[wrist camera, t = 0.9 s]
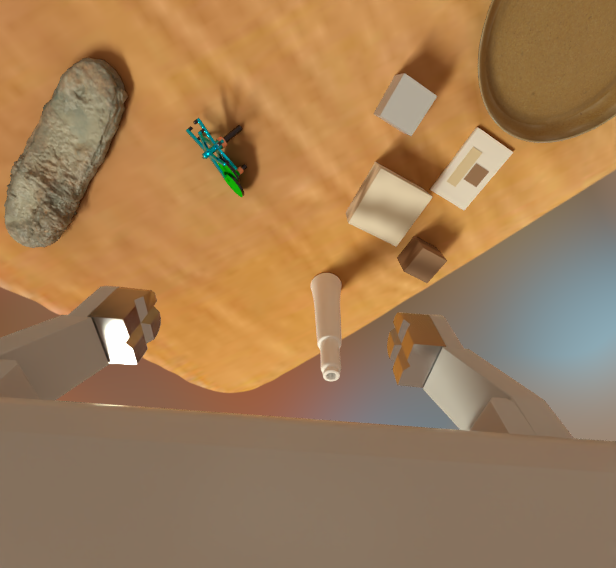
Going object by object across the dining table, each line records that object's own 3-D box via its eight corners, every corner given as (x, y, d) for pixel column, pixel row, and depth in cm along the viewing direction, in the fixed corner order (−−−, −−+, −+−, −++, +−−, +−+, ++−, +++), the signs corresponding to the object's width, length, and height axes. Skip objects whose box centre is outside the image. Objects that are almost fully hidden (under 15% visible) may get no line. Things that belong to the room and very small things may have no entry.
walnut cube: (414, 235, 51) (423, 247, 47) (436, 247, 52) (447, 260, 48) (396, 257, 54) (403, 271, 49) (418, 268, 55) (427, 283, 51)
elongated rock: (154, 99, 42) (89, 38, 39) (135, 96, 37) (58, 26, 34) (59, 257, 55) (3, 221, 51) (36, 269, 50) (-27, 230, 47)
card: (476, 127, 42) (478, 127, 41) (511, 151, 43) (513, 152, 43) (429, 189, 47) (431, 190, 46) (462, 209, 48) (464, 210, 48)
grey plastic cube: (394, 75, 39) (404, 73, 35) (424, 96, 40) (437, 96, 36) (373, 113, 41) (379, 115, 37) (401, 132, 42) (411, 136, 38)
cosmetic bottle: (345, 275, 56) (360, 364, 37) (336, 300, 59) (346, 393, 41) (314, 269, 55) (314, 357, 37) (307, 294, 58) (304, 386, 40)
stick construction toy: (174, 127, 41) (194, 130, 35) (212, 98, 42) (236, 97, 37) (225, 196, 49) (247, 206, 44) (255, 170, 51) (280, 178, 45)
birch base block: (374, 161, 45) (381, 168, 41) (422, 187, 47) (432, 197, 43) (345, 212, 49) (348, 223, 45) (389, 234, 51) (396, 246, 47)
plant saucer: (732, -21, 33) (770, -32, 31) (547, 171, 45) (562, 176, 42) (602, -195, 27) (634, -227, 25) (427, 78, 39) (436, 77, 36)
